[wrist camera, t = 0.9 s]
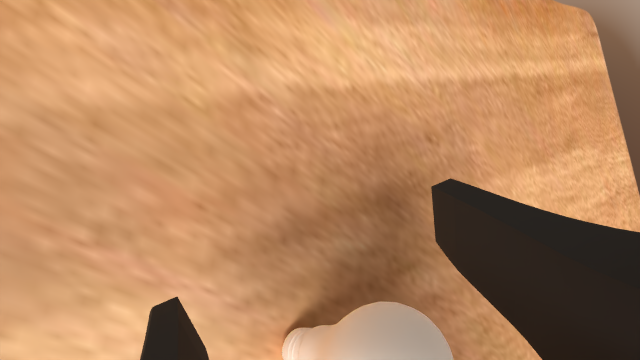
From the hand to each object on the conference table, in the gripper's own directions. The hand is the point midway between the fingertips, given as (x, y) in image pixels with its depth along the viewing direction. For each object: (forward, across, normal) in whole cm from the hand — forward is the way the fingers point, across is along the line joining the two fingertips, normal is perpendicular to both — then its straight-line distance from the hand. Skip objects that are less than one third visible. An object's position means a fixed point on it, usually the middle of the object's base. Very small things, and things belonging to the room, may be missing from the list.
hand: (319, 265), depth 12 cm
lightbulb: (+10, +1, +15) cm, 18 cm away
